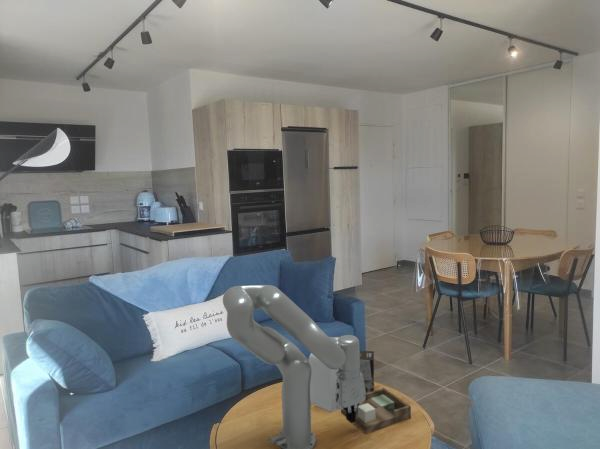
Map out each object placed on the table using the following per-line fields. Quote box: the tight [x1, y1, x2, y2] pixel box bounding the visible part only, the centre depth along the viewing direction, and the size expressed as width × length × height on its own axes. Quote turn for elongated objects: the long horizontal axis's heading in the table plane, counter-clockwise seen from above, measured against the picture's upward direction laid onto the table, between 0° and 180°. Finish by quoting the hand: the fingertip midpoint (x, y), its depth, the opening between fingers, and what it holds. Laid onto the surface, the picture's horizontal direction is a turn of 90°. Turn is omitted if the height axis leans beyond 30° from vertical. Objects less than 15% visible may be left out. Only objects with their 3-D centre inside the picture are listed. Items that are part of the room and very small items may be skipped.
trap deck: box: [340, 387, 412, 434], centre depth 166 cm, size 20×16×4 cm
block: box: [358, 403, 376, 423], centre depth 160 cm, size 4×4×4 cm
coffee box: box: [360, 350, 375, 393], centre depth 182 cm, size 9×6×16 cm
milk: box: [308, 352, 338, 413], centre depth 176 cm, size 12×12×26 cm
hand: (351, 420), depth 157 cm, fingers closed
